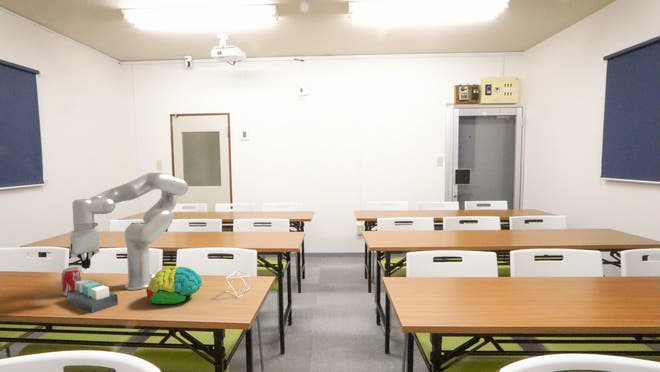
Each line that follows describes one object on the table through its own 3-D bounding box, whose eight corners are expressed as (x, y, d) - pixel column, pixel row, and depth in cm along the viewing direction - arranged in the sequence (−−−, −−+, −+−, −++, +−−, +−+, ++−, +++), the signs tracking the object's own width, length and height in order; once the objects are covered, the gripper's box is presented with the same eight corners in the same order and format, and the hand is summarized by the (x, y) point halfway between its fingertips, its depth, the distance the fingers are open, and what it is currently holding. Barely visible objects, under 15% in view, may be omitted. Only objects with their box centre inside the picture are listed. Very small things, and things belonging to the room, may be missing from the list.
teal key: (95, 292, 155) (95, 281, 154) (100, 294, 152) (100, 283, 152) (82, 296, 151) (82, 284, 150) (88, 298, 148) (87, 286, 148)
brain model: (209, 291, 164) (207, 260, 164) (191, 307, 145) (188, 272, 145) (162, 292, 166) (159, 262, 165) (137, 309, 147) (134, 274, 146)
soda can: (71, 297, 158) (69, 271, 157) (58, 296, 159) (57, 270, 159) (84, 291, 165) (83, 267, 164) (72, 290, 166) (71, 266, 166)
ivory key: (103, 296, 151) (103, 285, 151) (109, 298, 148) (109, 287, 148) (91, 300, 147) (90, 288, 146) (96, 302, 144) (96, 291, 144)
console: (92, 294, 162) (92, 284, 162) (117, 304, 150) (117, 294, 149) (67, 301, 153) (66, 291, 153) (92, 313, 141) (91, 302, 141)
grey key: (87, 289, 159) (87, 279, 158) (92, 291, 156) (92, 280, 156) (75, 293, 155) (74, 282, 154) (80, 295, 152) (79, 284, 152)
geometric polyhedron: (220, 296, 159) (219, 277, 158) (232, 288, 169) (231, 270, 169) (244, 299, 156) (244, 279, 155) (255, 290, 166) (255, 272, 166)
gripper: (99, 223, 160) (101, 262, 161) (60, 228, 148) (62, 270, 149) (106, 225, 156) (108, 265, 157) (67, 230, 143) (69, 273, 145)
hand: (86, 267), depth 153 cm, fingers closed
